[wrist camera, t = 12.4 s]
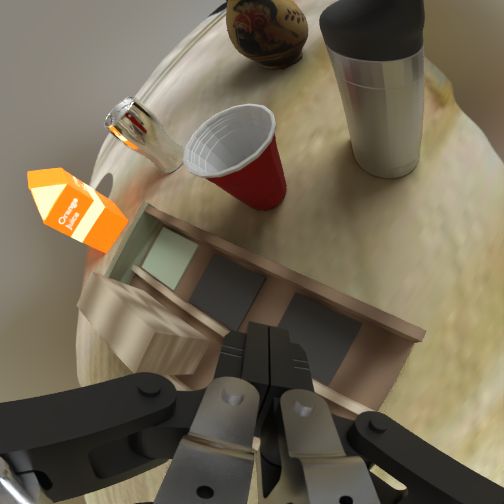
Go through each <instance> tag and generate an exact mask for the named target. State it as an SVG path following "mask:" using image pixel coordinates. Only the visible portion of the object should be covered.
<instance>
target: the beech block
mask: <svg viewBox="0 0 504 504" xmlns="http://www.w3.org/2000/svg"><path fill="white" fill-rule="evenodd" d="M77 306H78V308H79V309H80V310H81V312H82V313H83V314H84V316H85V317H86V318H87V320H88V321H89V322H90V324H91V325H92V326H93V327H94V329H95V330H96V331H97V332H98V334H99V335H100V336H101V337H102V338H103V340H104V341H105V342H106V343H107V344H108V346H109V347H110V348H111V349H112V350H113V351H114V353H115V354H116V355H117V356H118V357H119V358H120V359H121V360H122V362H123V363H124V364H125V365H126V366H127V367H128V368H129V369H130V370H131V371H132V372H133V373H134V374H135V373H139V372H151V373H156V374H159V375H185V374H194V372H195V370H196V368H197V367H198V365H199V363H200V361H201V359H202V357H203V355H204V353H205V352H206V350H207V348H208V346H209V344H210V342H211V340H210V339H208V338H207V337H205V336H204V335H203V334H201V333H200V332H198V331H197V330H195V329H194V328H193V327H191V326H190V325H189V324H187V323H186V322H184V321H183V320H182V319H180V318H179V317H178V316H176V315H175V314H174V313H172V312H171V311H170V310H168V309H167V308H166V307H164V306H163V305H162V304H160V303H159V302H158V301H157V300H155V299H154V298H153V297H151V296H150V295H149V294H148V293H146V292H145V291H144V290H141V289H138V288H135V287H132V286H130V285H127V284H124V283H121V282H119V281H116V280H113V279H111V278H108V277H105V276H103V275H100V274H97V273H95V272H92V271H91V273H90V276H89V278H88V280H87V282H86V285H85V287H84V289H83V292H82V294H81V296H80V299H79V301H78V304H77Z"/></svg>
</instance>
